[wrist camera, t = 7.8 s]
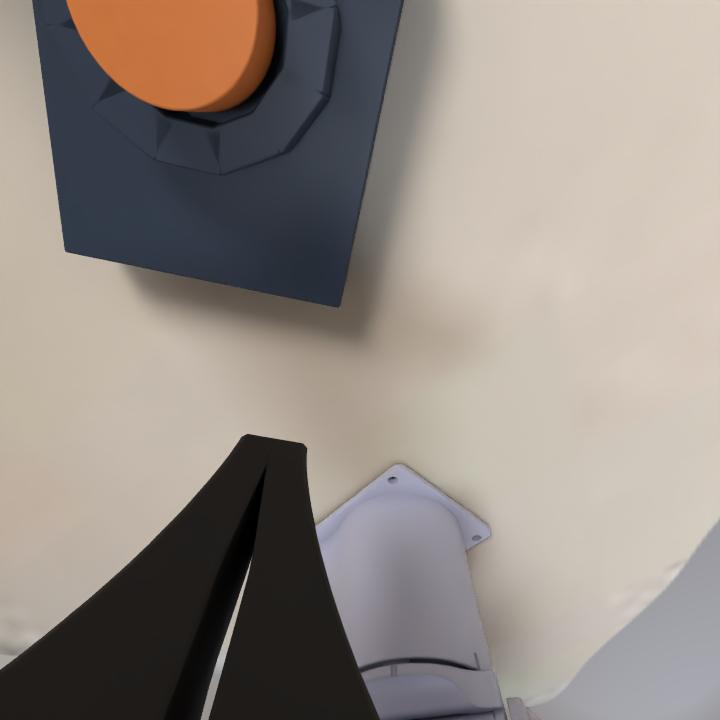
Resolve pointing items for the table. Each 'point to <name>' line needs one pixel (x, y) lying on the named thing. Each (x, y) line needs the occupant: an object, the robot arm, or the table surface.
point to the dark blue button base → (226, 155)
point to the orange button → (181, 48)
